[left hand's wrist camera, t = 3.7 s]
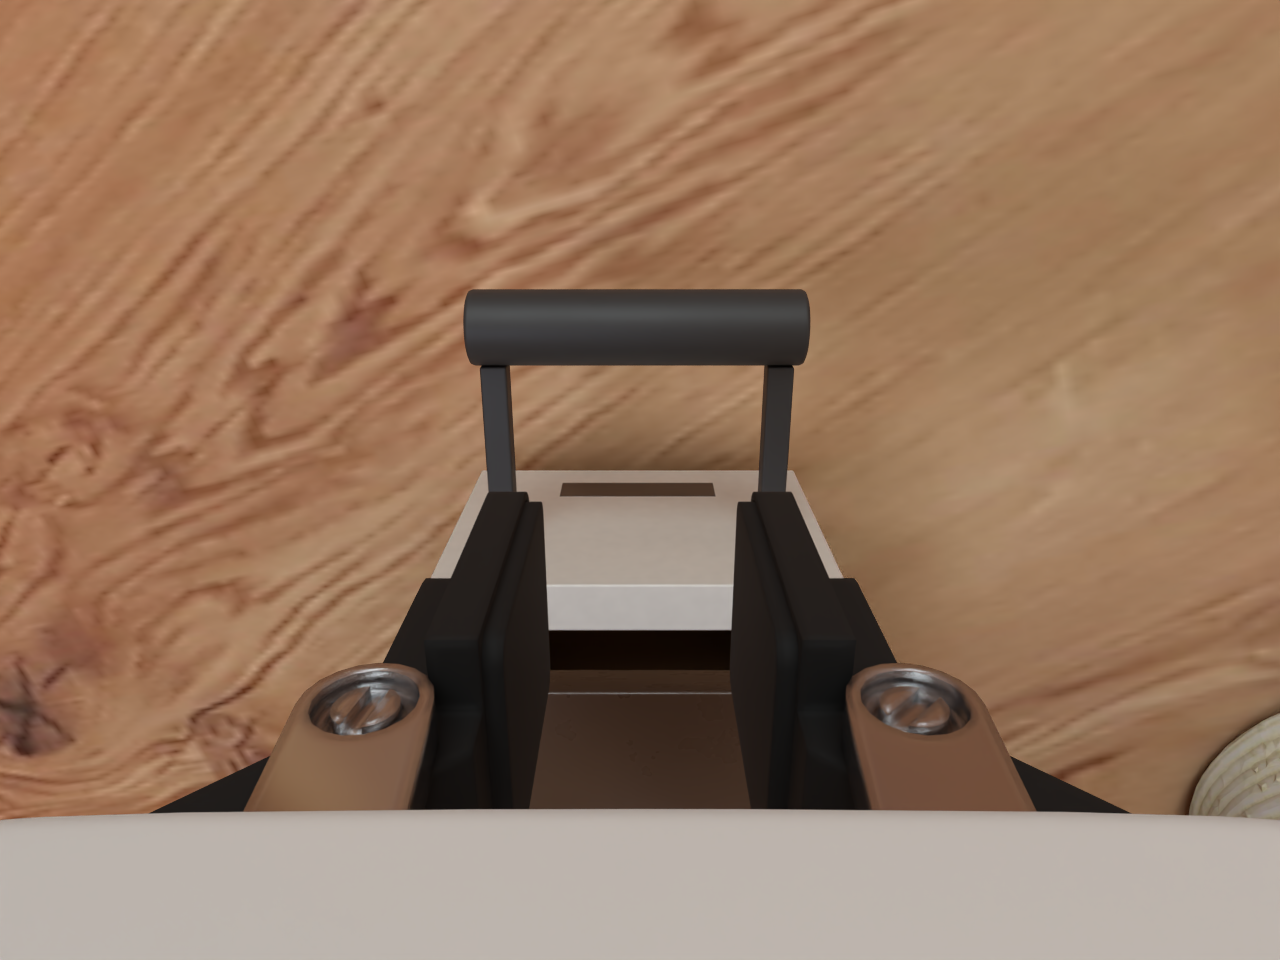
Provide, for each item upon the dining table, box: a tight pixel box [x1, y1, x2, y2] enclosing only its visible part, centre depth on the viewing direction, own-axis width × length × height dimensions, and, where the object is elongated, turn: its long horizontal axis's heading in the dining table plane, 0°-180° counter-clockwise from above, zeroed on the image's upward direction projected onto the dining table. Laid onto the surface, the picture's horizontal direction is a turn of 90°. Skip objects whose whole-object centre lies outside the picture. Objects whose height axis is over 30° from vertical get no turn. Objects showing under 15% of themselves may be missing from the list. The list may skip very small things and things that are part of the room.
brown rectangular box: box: [529, 670, 751, 809], centre depth 26 cm, size 15×11×9 cm
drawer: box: [431, 289, 843, 670], centre depth 24 cm, size 20×10×7 cm, turn 0°
